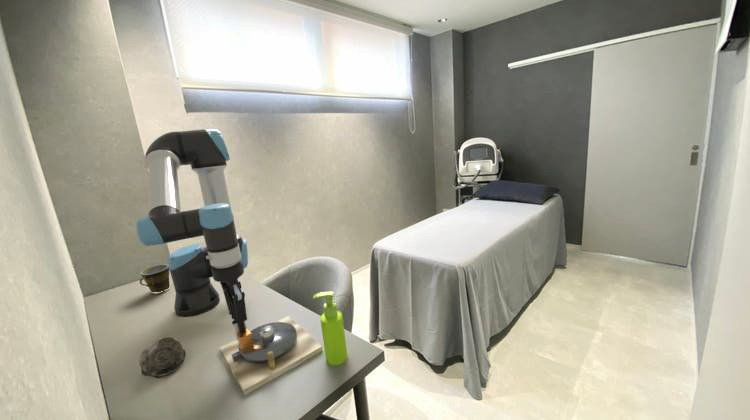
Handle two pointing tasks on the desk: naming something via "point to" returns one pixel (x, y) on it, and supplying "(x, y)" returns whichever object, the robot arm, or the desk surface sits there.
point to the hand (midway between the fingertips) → (243, 339)
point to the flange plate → (265, 342)
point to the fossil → (162, 357)
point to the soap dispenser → (332, 330)
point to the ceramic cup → (156, 277)
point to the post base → (262, 369)
